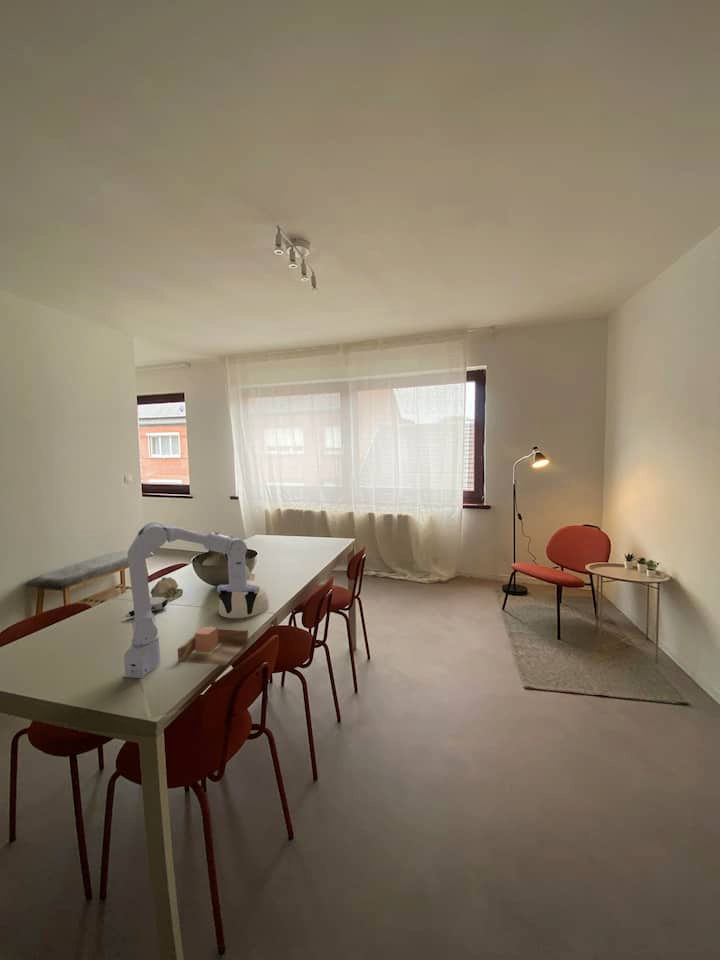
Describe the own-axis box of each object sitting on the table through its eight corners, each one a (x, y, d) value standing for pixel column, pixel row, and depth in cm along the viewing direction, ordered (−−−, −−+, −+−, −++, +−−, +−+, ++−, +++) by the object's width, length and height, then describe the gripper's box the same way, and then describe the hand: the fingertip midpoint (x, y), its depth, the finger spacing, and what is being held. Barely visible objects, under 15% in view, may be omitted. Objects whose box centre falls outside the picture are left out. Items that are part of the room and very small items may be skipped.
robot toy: (154, 622, 156) (173, 605, 170) (152, 612, 155) (171, 595, 170) (123, 623, 156) (145, 605, 171) (122, 612, 155) (144, 595, 170)
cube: (209, 652, 127) (208, 634, 126) (195, 651, 128) (194, 633, 127) (218, 644, 132) (217, 627, 131) (204, 643, 132) (203, 626, 132)
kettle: (275, 599, 174) (273, 559, 173) (259, 619, 154) (256, 574, 152) (231, 599, 176) (229, 559, 175) (209, 618, 156) (206, 574, 154)
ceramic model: (160, 606, 170) (158, 583, 170) (143, 602, 175) (141, 580, 174) (187, 595, 183) (185, 574, 182) (170, 592, 188) (168, 571, 187)
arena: (225, 667, 119) (224, 652, 119) (178, 663, 122) (177, 648, 122) (248, 643, 134) (247, 629, 134) (205, 640, 137) (205, 627, 137)
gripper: (262, 570, 136) (264, 608, 137) (223, 569, 138) (226, 607, 139) (253, 577, 129) (255, 617, 130) (212, 575, 132) (215, 615, 133)
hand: (239, 612), depth 134 cm, fingers open, 7 cm apart
